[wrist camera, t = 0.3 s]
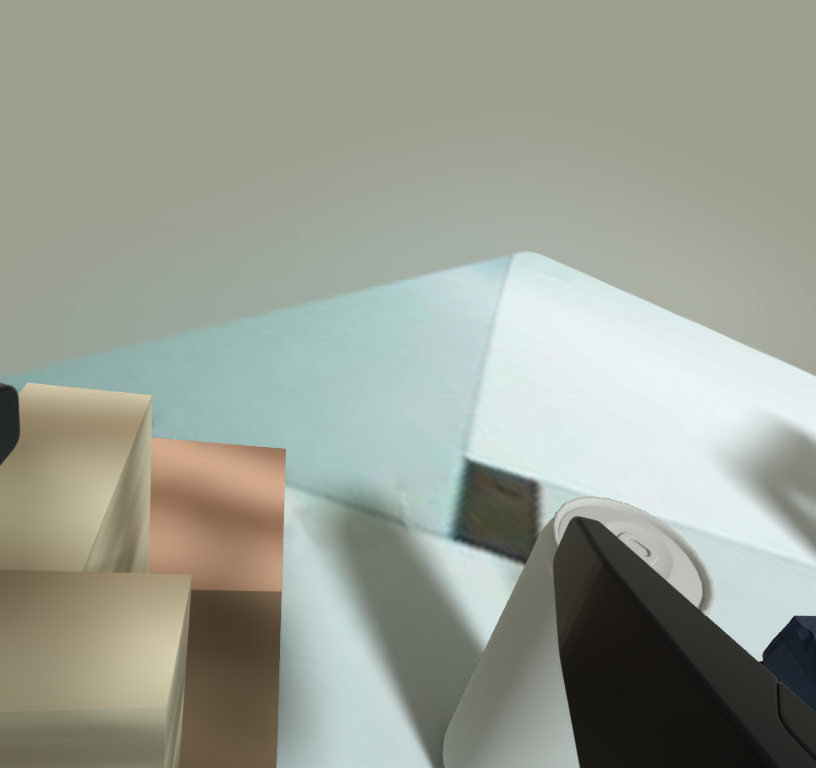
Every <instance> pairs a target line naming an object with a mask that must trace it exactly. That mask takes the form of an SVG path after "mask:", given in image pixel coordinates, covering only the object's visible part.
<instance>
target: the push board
mask: <svg viewBox="0 0 816 768" xmlns="http://www.w3.org/2000/svg"><path fill="white" fill-rule="evenodd" d="M285 461H286V449H280V448H268V447H256V446H244V445H232V444H220V443H208V442H197V441H185V440H173V439H161V438H151V490H150V567H149V573H150V574H187V575H192V583H191V598H190V613H189V628H188V643H187V658H186V673H185V688H184V703H183V718H182V733H181V748H180V763H179V768H276V759H277V726H278V693H279V660H280V627H281V594H282V560H283V527H284V494H285Z"/></svg>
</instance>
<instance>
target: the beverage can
mask: <svg viewBox="0 0 816 768" xmlns="http://www.w3.org/2000/svg"><path fill="white" fill-rule="evenodd" d="M575 516H581V517H586V518H590V519H594V520H597V521H600V522H601V523H602V524H603V525H604V526H605V527H607V528H608V529H609V530H610V531H611V532H612V533H613V534H614V535H616V536H617V537H618V538H619V539H620V540H621V541H622V542H623V543H625V544H626V545H627V546H628V547H629V548H630V549H631V550H633V551H634V552H635V553H636V554H637V555H638V556H639V557H640V558H642V559H643V560H644V561H645V562H646V563H647V564H648V565H650V566H651V567H652V568H653V569H654V570H655V571H656V572H657V573H659V574H660V575H661V576H662V577H663V578H664V579H665V580H666V581H668V582H669V583H670V584H671V585H672V586H673V587H674V588H676V589H677V590H678V591H679V592H680V593H681V594H682V595H683V596H685V597H686V598H687V599H688V600H689V601H690V602H691V603H692V604H694V605H695V606H696V607H697V608H698V609H699V610H700V611H702V612H703V613H704V614H705V615H706V616H707V615H708V614H709V613H710V610H711V607H712V605H713V602H714V599H715V597H714V586H713V581H712V579H711V577H710V574H709V572H708V570H707V567H706V566H705V564H704V563H703V561H702V560H701V559H700V557H699V556H698V554H697V553H696V551H695V550H694V549H693V548H692V547H691V546H690V545H689V544H688V543H687V542H686V541H685V540H684V539H683V538H682V537H681V536H680V535H679V534H677V533H676V532H675V531H674V530H672V529H671V528H670V527H669V526H667V525H666V524H665V523H663V522H662V521H660V520H658V519H657V518H655V517H653V516H652V515H650V514H648V513H647V512H645V511H643V510H640V509H638V508H636V507H633V506H631V505H629V504H627V503H623V502H619V501H616V500H612V499H609V498H600V497H583V498H576V499H574V500H571V501H569V502H567V503H565V504H564V505H563V506H562V507H561V508H560V509H559V510H558V511H557V512H556V514H555V516H554V518H552V519H551V520H550V522H549V523H548V524H547V525H546V526H545V527H544V528H543V530H542V532H541V534H540V536H539V538H538V540H537V542H536V544H535V546H534V548H533V550H532V552H531V554H530V556H529V558H528V561H527V563H526V565H525V567H524V569H523V571H522V573H521V575H520V577H519V579H518V581H517V583H516V585H515V588H514V590H513V592H512V594H511V596H510V598H509V600H508V602H507V604H506V606H505V608H504V610H503V612H502V615H501V617H500V619H499V621H498V623H497V625H496V627H495V629H494V631H493V633H492V635H491V637H490V639H489V642H488V644H487V646H486V648H485V650H484V652H483V654H482V656H481V658H480V660H479V662H478V664H477V666H476V669H475V671H474V673H473V675H472V677H471V679H470V681H469V683H468V685H467V687H466V689H465V691H464V693H463V696H462V698H461V700H460V702H459V704H458V706H457V708H456V710H455V712H454V714H453V716H452V718H451V720H450V723H449V725H448V728H447V730H446V733H445V736H444V741H443V753H442V757H443V763H444V768H580V767H579V762H578V756H577V751H576V746H575V740H574V735H573V729H572V724H571V718H570V713H569V707H568V702H567V697H566V691H565V686H564V680H563V675H562V669H561V663H560V657H559V648H558V638H557V623H556V609H555V594H554V580H553V559H554V555H555V552H556V550H557V548H558V546H559V543H560V541H561V539H562V537H563V534H564V532H565V530H566V528H567V525H568V523H569V521H570V520H571V519H572V518H573V517H575Z"/></svg>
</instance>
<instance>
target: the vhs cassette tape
mask: <svg viewBox="0 0 816 768" xmlns="http://www.w3.org/2000/svg"><path fill="white" fill-rule="evenodd" d="M762 657H763V661H760V662H759V663H760V664H762V665H763V666H764V667H765V668H766V669H767V670H768V671H769V672H771V673H772V674H773V675H774V676H775V677H776V678H777V682H782V683H783V684H784V685H786V686H787V687H788V688H789V689H790V690H791V691H792V692H793V693H795V694H796V695H797V696H798V697H799V698H800V699H801V700H802V701H804V702H805V703H806V704H807V705H808V706H809V707H810V708H812V709H813V710H814V711H815V712H816V616H794V617H793V618H792V619H791V621H790V622H789V623H788V624H787V625H786V626H785V627H784V628H783V630H782V631H781V632H780V633H779V634H778V635H777V636H776V637H775V638H774V639H773V640H772V641H771V643H770V644H769V645H768V647H767V648H766V649H765V651H764V652H763V655H762Z"/></svg>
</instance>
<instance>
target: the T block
mask: <svg viewBox="0 0 816 768" xmlns="http://www.w3.org/2000/svg"><path fill="white" fill-rule="evenodd" d="M18 396H19V413H20V437H19V441H18V443H17V445H16V447H15V448H14V450H13V451H12V452H11V453H10V455H9V456H8V457H7V458H6V460H5V461H4V462H3V463H2V465H1V466H0V768H179V763H180V748H181V733H182V718H183V703H184V688H185V673H186V658H187V643H188V628H189V613H190V598H191V583H192V575H187V574H150V573H149V567H150V490H151V414H152V395H142V394H132V393H122V392H112V391H103V390H93V389H83V388H73V387H63V386H53V385H43V384H33V383H27V384H26V386H25V387H24V388H23V390H22V391H21V392H20V394H19V395H18Z"/></svg>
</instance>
